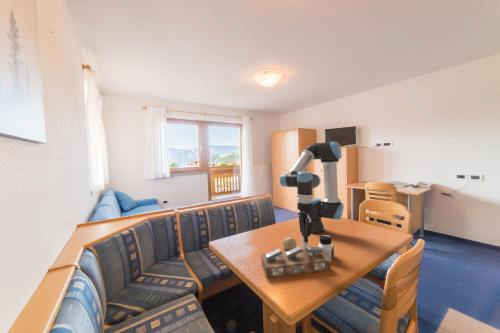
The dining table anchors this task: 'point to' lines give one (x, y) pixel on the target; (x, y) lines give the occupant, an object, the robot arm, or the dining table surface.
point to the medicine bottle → (327, 246)
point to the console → (295, 264)
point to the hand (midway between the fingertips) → (305, 247)
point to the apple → (289, 243)
